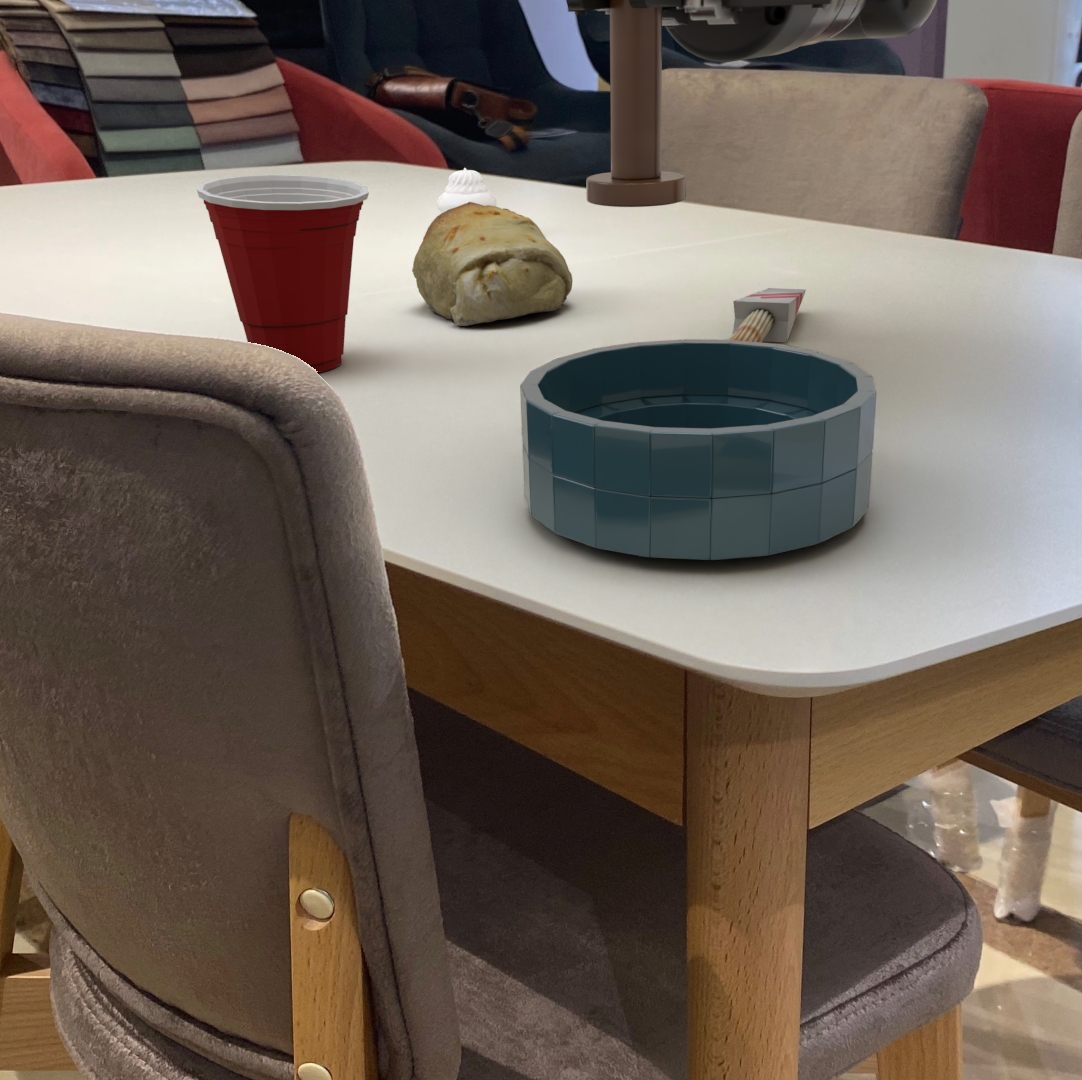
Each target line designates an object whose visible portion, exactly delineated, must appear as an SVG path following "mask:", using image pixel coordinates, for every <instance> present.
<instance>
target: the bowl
mask: <svg viewBox="0 0 1082 1080" xmlns="http://www.w3.org/2000/svg"><path fill="white" fill-rule="evenodd" d="M519 392H520V393H519V394H520V395H519V397H520V414H521V415H520V417H521V418H520V419H521V422H520V423H521V442H522V466H523V467H522V468H523V494H524V495H523V496H524V499H525V502H526V505H527V508H528V511H529V514H530V516H531V517H532V518H534V519H535V520H536V521H538V522H539V523H541V524H542V525H544V526H545V527H546V528H547V529H549V531H551V532H552V533H554V534H555V535H558V536H561V537H564V538H566V539H570V540H572V541H576V542H578V543H581V544H583V545H586V546H589V547H591V548H594V549H598V550H604V551H610V552H615V553H621V554H626V555H633V556H638V557H644V558H652V559H657V558H658V559H674V560H699V561H700V560H701V561H720V560H732V559H745V558H754V557H756V558H757V557H767V556H773V555H777V554H781V553H785V552H790V551H794V550H798V549H803V548H808V547H812V546H815V545H818V544H821V543H824V542H826V541H827V540H830V539H832V538H834V537H836V536H838V535H840V534H842V533H844V532H847V531H849V530H851V529H852V528H854V527H855V526H856V525H857V523H859V521H860V520H861V519H862V517H863V516H864V515H865V514H866V512H867V511H868V510H869V508H870V498H871V483H872V468H873V467H872V466H873V454H874V453H873V450H874V439H875V438H874V437H875V425H876V423H875V422H876V410H877V409H876V408H877V394H878V393H877V388H876V382H875V377H874V376H873V375H871V374H870V373H869V372H868V371H866V370H864V369H863V368H861V367H860V366H859V365H858V364H855V363H854V362H852V361H849V360H846V359H844V358H840V357H838V356H834V355H832V354H828V353H825V352H822V351H817V350H812V349H807V348H801V347H796V346H790V345H785V344H778V343H772V342H761V343H760V342H749V341H737V340H729V339H701V338H700V339H695V338H694V339H693V338H690V339H687V338H685V339H669V340H668V339H667V340H654V341H653V340H649V341H637V342H627V343H622V344H614V345H609V346H608V345H607V346H601V347H595V348H589V349H587V350H582V351H579V352H575V353H571V354H568V355H565V356H561V357H557V358H555V359H552V360H550V361H548V362H546V363H544V364H542V365H540V366H539V367H536V368H534V369H532V370H530V371H529V373H528V374H527V375H526V377H525V378H524V379H523V381H522V382H521V383H520V385H519Z"/></svg>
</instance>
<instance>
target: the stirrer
mask: <svg viewBox="0 0 1082 1080" xmlns="http://www.w3.org/2000/svg"><path fill="white" fill-rule="evenodd" d="M609 60H610V61H609V74H610V75H609V82H610V83H609V84H610V85H609V86H610V87H609V88H610V89H609V90H610V91H609V93H610V94H609V95H610V97H609V98H610V100H609V101H610V172H602V173H596V174H593V175H590V176H587V177H586V180H585V181H586V182H585V184H586V185H585V186H586V188H585V189H586V191H585V193H586V195H585V196H586V197H585V198H586V201H587V203H590V204H593V205H596V206H601V207H602V206H603V207H615V208H641V207H642V208H643V207H644V208H645V207H646V208H647V207H658V206H667V205H668V206H669V205H673V204H677V203H681V202H684V201H686V198H687V176H686V175H685V174H682V173H679V172H676V171H674V172H673V171H665V170H662V111H663V110H662V108H663V107H662V106H663V105H662V103H663V101H662V98H663V95H662V93H663V92H662V91H663V87H662V86H663V85H662V84H663V79H662V78H663V62H662V61H663V26H662V7H658V8H632V7H631V6H630V3H629V0H610V14H609Z"/></svg>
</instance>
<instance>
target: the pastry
mask: <svg viewBox="0 0 1082 1080" xmlns="http://www.w3.org/2000/svg"><path fill="white" fill-rule="evenodd" d="M426 229H427V230H426V231H425V234H424V236H423V239H422V242H421V244H420V245H419V248H418V250H417V252H416V254H415V256H414V259H413V262H412V263H413V264H412V268H411V272H412V274H413V276H414V278H415V281H416V287H417V289H418V292H419V295H420V296H421V297H422V299H423V300H424V302H425V304H427V305H428V306H429V310H430V312H433V313H437V314H438V315H439V316H442V317H443V318H445V319H446V320H453V324H454V325H456V326H459V327H460V326H461V327H462V326H463V327H465V326H466V327H467V326H472V325H477V324H482V323H492V322H495V321H499V320H508V319H513V318H518V317H522V316H527V315H529V314H535V313H536V314H537V313H538V314H539V313H545V312H552V311H555V310H557V309H562V308H563V306H564V304H563V303H565V301H566V300H567V299H568V296H569V295H570V293H571V292H572V289H573V281H574V280H573V274H572V272H571V271H570V269H569V266H568V264H567V261H566V258H565V257H564V256H563V254H562V253H561V252H560V250H559V249H558V248H557V247H556V246H554V244H552V243H551V242H550V241H549V240H548V239H547V238H546V236H545V234H544V233H543V231H542V230H541V228H540V227H539V226H538V225H537V223H535V222H534V220H532V219H531V218H529V217H527V216H524V215H522V214H519V213H516V212H515V211H512V210H510V209H509V208H505V207H504V208H502V207H499V206H497V205H496V206H491V205H487V206H483V205H480V204H477V203H473V202H468V203H466V204H463V205H461V206H458V207H455V208H452V209H449V210H447V211H445V212H443V213H442V214H441V213H440V214H439V215H437V216H436V217H435V218H434V219H433V221H431V223H430V224H429V225H428V227H427V228H426Z"/></svg>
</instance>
